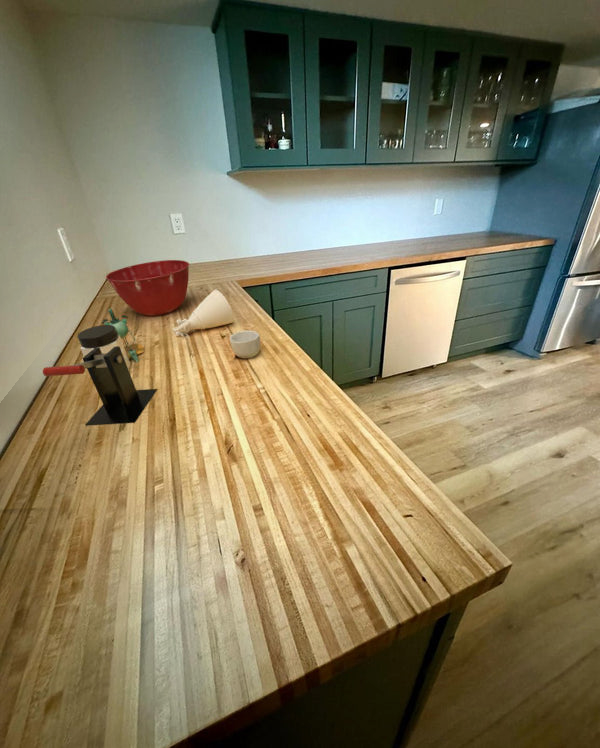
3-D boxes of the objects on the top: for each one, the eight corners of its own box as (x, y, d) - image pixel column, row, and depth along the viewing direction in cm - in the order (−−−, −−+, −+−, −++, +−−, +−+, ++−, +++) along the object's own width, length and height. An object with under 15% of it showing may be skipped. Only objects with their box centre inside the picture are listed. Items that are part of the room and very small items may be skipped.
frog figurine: (109, 375, 85) (85, 318, 79) (111, 355, 101) (92, 306, 94) (148, 364, 89) (129, 309, 83) (145, 346, 104) (128, 299, 98)
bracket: (136, 427, 66) (111, 365, 59) (87, 429, 66) (56, 369, 59) (159, 393, 76) (139, 337, 69) (116, 395, 76) (92, 340, 69)
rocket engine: (161, 310, 96) (214, 283, 103) (164, 324, 107) (213, 299, 114) (184, 343, 96) (236, 313, 103) (185, 354, 107) (232, 327, 114)
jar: (128, 380, 82) (110, 335, 76) (92, 386, 81) (71, 341, 75) (134, 363, 90) (118, 321, 84) (101, 369, 88) (83, 327, 82)
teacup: (266, 356, 88) (263, 337, 85) (238, 364, 85) (234, 345, 82) (252, 343, 96) (250, 325, 93) (226, 350, 93) (223, 332, 90)
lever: (80, 377, 54) (77, 362, 53) (44, 379, 54) (40, 365, 53) (124, 364, 66) (122, 352, 66) (95, 366, 67) (93, 354, 66)
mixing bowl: (153, 328, 112) (138, 282, 104) (104, 317, 125) (88, 275, 118) (213, 302, 132) (205, 261, 124) (165, 295, 146) (155, 258, 138)
